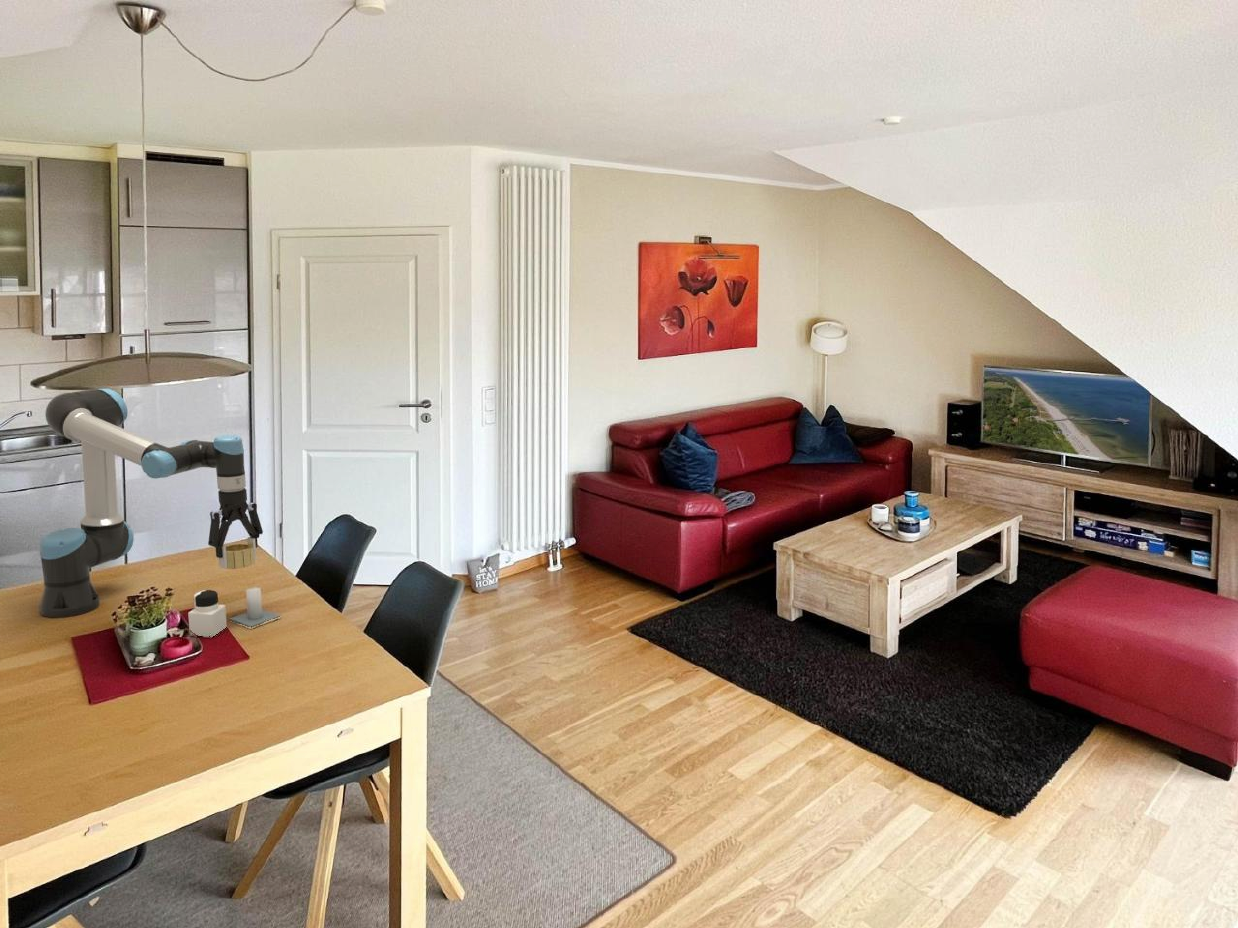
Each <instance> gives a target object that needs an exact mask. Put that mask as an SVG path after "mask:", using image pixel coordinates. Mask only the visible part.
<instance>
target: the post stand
mask: <svg viewBox="0 0 1238 928" xmlns="http://www.w3.org/2000/svg"><path fill="white" fill-rule="evenodd" d="M245 592H246V610H247V612H245V613H241V614H238V615H235V616H232V617H230V618H229V622H230V621H232V622H235V623H238V624H242V625H245V626H247V627H251V628H252V627H254V626H257V625H260V624H262V623H264V622H266V621H269V620H271V619H275V618H278V617H280V616H281V617H282V615H280V614H277V613H274V612H271V611H270V610H266V609H264V608H263V601H262V588H261V587H259V586H253V587H249V588H247V589H246V590H245ZM232 622H231V623H232ZM235 623H234V624H235ZM238 624H237V625H238Z"/></svg>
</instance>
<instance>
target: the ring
mask: <svg viewBox="0 0 1238 928" xmlns="http://www.w3.org/2000/svg"><path fill="white" fill-rule="evenodd" d="M224 546H225V547H226V556H227V568H226V569H225V570H237V569H239V570H240V569H244V568H248V567H251V566H253V565H254V564H256V560H255V557H254V546H253V545H252V544H249V543H247V542H236V543H230V544H229V543H228V544H226V545H224Z"/></svg>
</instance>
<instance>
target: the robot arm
mask: <svg viewBox="0 0 1238 928" xmlns="http://www.w3.org/2000/svg"><path fill="white" fill-rule="evenodd" d="M127 407H128V406H127V404H126V402H125V400H124V399H123V397H122V396H121V395H120V393H118V392H117V391H115V390H113V389H110V388H92V390H91V389H85V390H80V391H72V392H64V393H61V394H59V395H56V396H55V397H53V398H52V399H51V400H50V401H49V402H48V404H47V406H46V409H45V420H46V422H47V425H48V427H50V429H51V430H52V431H53V432H55V433H56V434H58V435H60V436H61V437H63V438H66V439H68V440H72V441H78V440H80V441H81V455H82V456H81V459H82V473H83V491H84V505H85V516H83V518H81V519H80V528H79V527H70V528H69V527H68V528H65V529H58V530H55V531H52V532H50V533H48V534H46V535H45V536H44V537H42V539H41V540H40V543H39V548H40V550H39V555H40V560H41V566H42V567H41V568H42V576H43V583H44V584H43V585H44V587H43V588H44V589H43V591H42V596H41V599H40V603H39V610H40V615H42V616H44V617H48V618H66V617H73V616H79V615H83V614H86V613H89V612H91V611H94V610H95V609H97V608H98V607H99V606H100V603H101V602H100V597H99V594H98V592H97V590H96V589H95V587H94V584H93V583H92V581H91V576H90V569H91V568H94V567H97V566H99V565H102V564H105V563H107V562H112V561H115V560H118V559H119V558H122V557H123V556H125V555H126V554H128V553H129V552H130V551H131V549H132V547H133V545H134V541H135V540H134V539H135V538H134V533H133V529H132V528H130V527H131V525H130V524H129V523H128V522H127V521H125V520H124V519H125V518H124V516H122V515H121V514H120V513H119V511H118V510H119V509H118V508H119V507H118V493H117V492H118V491H117V473H116V456H117V457H119V458H122V459H124V460H127V461H129V462H132V464H135V465H138V466H141V469H142V471H143V472H144V473H145V474H146V476H148V477H149V478H151V479H155V480H156V479H161V478H162V479H163V478H169V477H171V476H173V475H177V474H181V473H184V472H189V471H193V470H195V469H199V468H200V469H201V468H209V469H210V468H211V469H215V471H216V472H215V473H216V483H217V484H216V485H217V489H218V492H217V493H218V503H219V509H218V510H217V511H210V513H209V515H210V527H209V533H208V534H209V536H208V542H207V544H208V546H210V547H212V548H213V547H214V548H215V557H216V558H217V559H218V565H219V568H220V569H225V570H227V569H226V568H227V556H226V547H225V546H226V545H224V543H225V541H226V538H227V535H228V532H229V530H230V529H229V528H230V526H231V525H232V524H233V522H235V521H240V523H241V525H242V526H243V527H244V530H245V531H246V533H247V534H248V535H249V536H248V537H246V541H247V542H246V543H249V544H252V545H253V546H254V557H255V561H256V560H257V559H258V558H257V548H258V539H259V538H260V535H263V534H264V533H263V532H264V530H263V528H262V524H261V520H260V518H259V513H258V504H257V503H255V502H247V501H248V496H247V495H248V494H247V489H246V487H247V486H246V485H247V482H246V471H245V455H244V454H245V453H244V452H245V449H244V444H243V439H242V437H241V436H239V435H235V434H231V435H230V434H224V435H218V436H216V437H214V439H213V441H206V440H205V441H204V440H198V439H193V440H190V439H189V440H184V441H182V442H181V443H180V444H179V445H175V446H172V447H167V446H165V445H163V444H159V443H157V442H155V441H152V440H151V439H148V438H146V437H143V436H142V435H139V434H136V433H134V432H132V431H129V430H128V429H125V428H122V427H120V426H121V425H122V424H123V423H125V421H126V420H127V418H128V408H127ZM246 512H248V515H249V517H248V515H247V513H246ZM249 518H250V519H249Z"/></svg>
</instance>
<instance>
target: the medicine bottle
mask: <svg viewBox="0 0 1238 928" xmlns="http://www.w3.org/2000/svg"><path fill="white" fill-rule="evenodd" d="M193 601H194V608H193V609H192V610H191V611H189V612H188V613H187V615H188V626H189V631H190V630H191V631H192V632H193V633H195V634H196V635H198V636H203V637H202V638H212V637H213V636H215V635H216V634H218V633H219V632H220V631H222V630H223V629H225V628H226V627H227V628H228V626H227V613H226V605H225V604H219V596H218V591H216V590H212V589H204V590H201V591H198V592H196V593H195V594H194V595H193ZM227 628H226V629H227ZM226 629H225V630H226ZM223 631H224V630H223ZM223 631H222V632H223ZM219 634H220V633H219ZM219 634H218V635H219ZM209 636H210V637H209ZM216 636H217V635H216ZM216 636H215V637H216Z"/></svg>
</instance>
